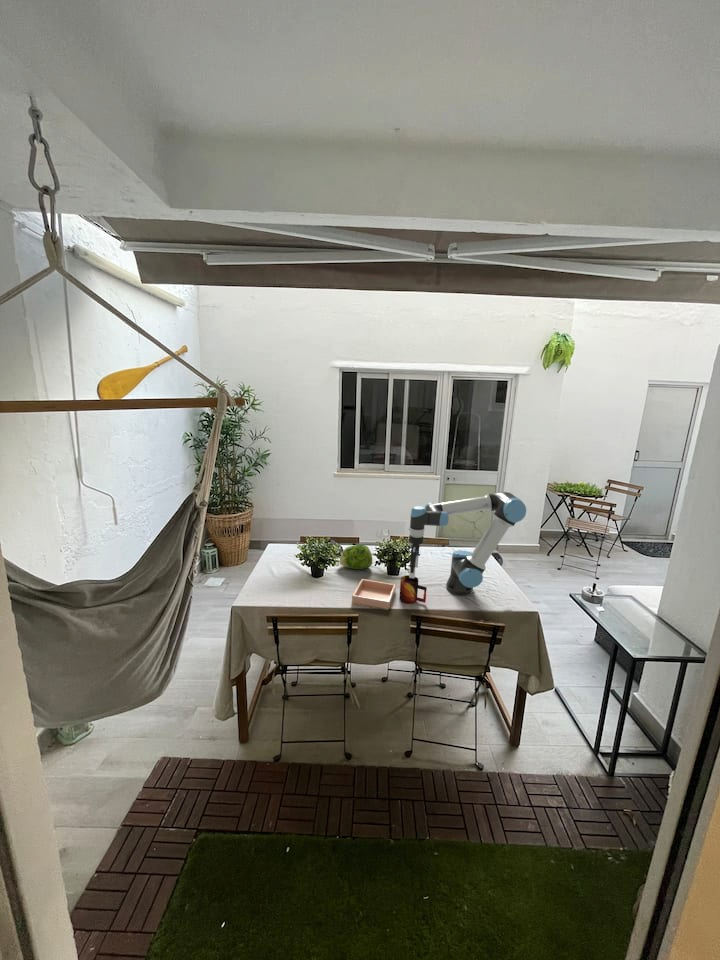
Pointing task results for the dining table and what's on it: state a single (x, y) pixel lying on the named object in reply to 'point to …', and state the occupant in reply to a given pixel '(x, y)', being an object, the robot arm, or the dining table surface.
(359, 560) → the lettuce
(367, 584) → the tray
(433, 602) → the dining table surface
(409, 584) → the mug
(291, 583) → the dining table surface
